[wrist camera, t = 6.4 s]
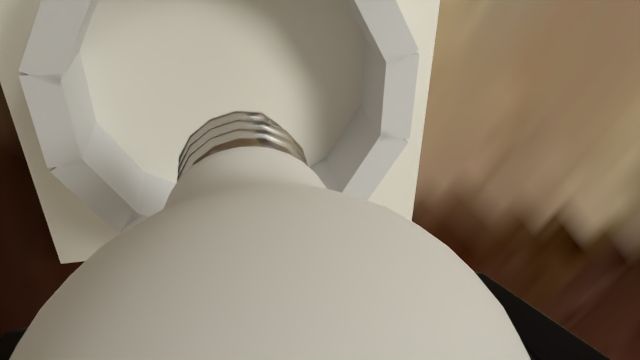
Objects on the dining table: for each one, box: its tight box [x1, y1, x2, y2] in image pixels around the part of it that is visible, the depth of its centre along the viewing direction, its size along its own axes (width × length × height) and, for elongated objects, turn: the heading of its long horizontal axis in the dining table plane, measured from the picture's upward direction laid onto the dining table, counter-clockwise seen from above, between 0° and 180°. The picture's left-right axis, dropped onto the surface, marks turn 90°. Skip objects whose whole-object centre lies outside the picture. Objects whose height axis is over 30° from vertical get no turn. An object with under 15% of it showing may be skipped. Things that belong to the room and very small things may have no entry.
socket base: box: [0, 0, 440, 264], centre depth 17 cm, size 14×14×4 cm
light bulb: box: [9, 111, 531, 360], centre depth 8 cm, size 7×7×11 cm
